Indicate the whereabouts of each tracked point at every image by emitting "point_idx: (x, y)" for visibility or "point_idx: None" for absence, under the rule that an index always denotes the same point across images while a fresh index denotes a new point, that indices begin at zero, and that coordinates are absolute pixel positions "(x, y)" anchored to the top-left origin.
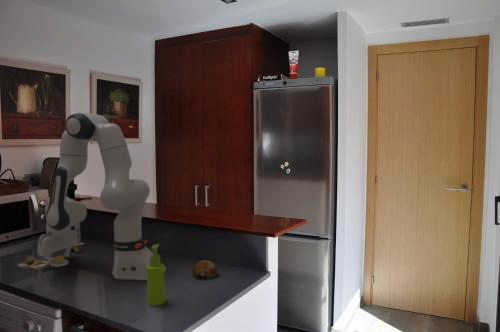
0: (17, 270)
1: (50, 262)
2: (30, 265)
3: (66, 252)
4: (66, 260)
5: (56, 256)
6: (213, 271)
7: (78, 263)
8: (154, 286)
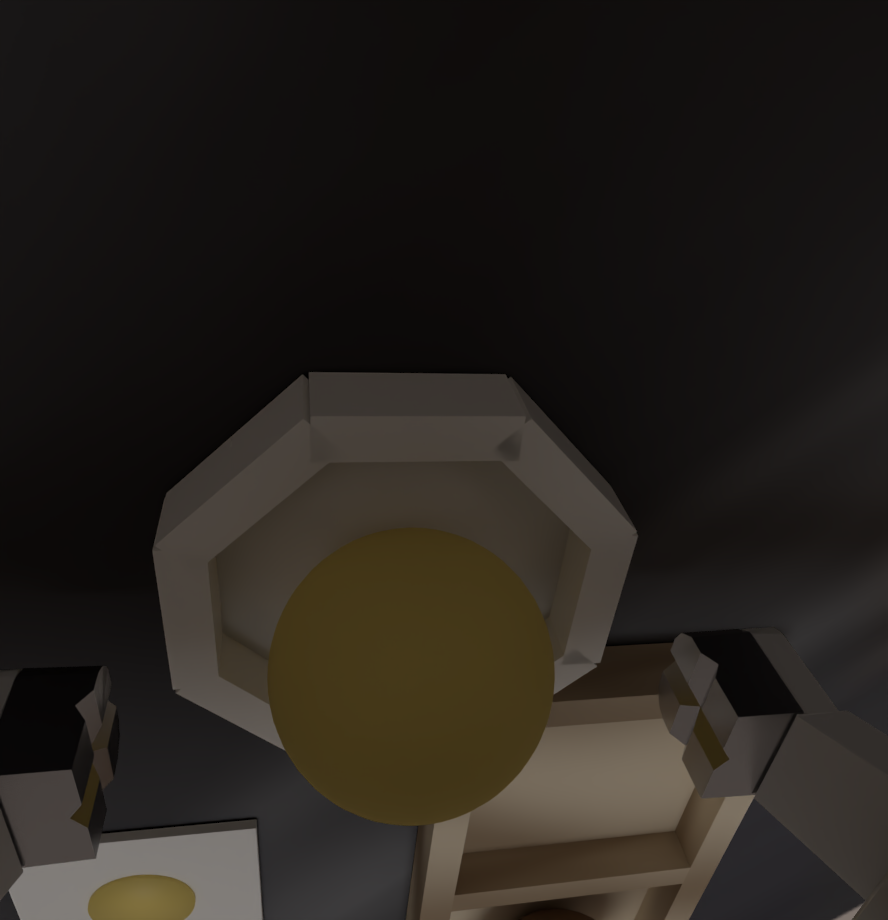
0: (767, 875)
1: (784, 655)
2: (689, 872)
3: (6, 837)
4: (229, 536)
5: (493, 796)
6: None
7: (99, 52)
8: None
